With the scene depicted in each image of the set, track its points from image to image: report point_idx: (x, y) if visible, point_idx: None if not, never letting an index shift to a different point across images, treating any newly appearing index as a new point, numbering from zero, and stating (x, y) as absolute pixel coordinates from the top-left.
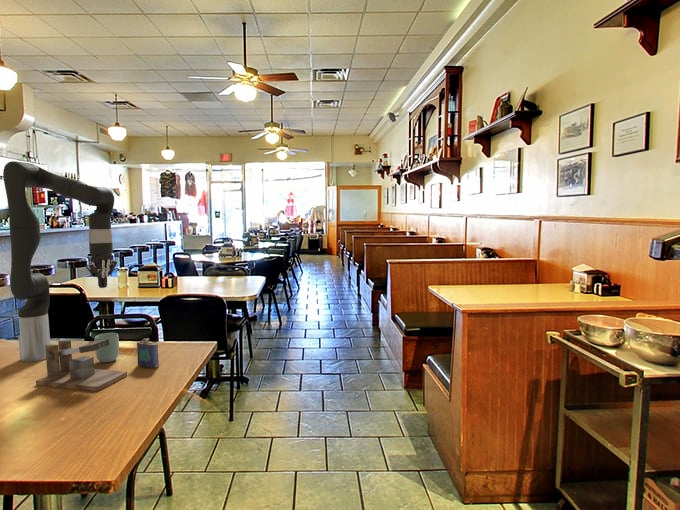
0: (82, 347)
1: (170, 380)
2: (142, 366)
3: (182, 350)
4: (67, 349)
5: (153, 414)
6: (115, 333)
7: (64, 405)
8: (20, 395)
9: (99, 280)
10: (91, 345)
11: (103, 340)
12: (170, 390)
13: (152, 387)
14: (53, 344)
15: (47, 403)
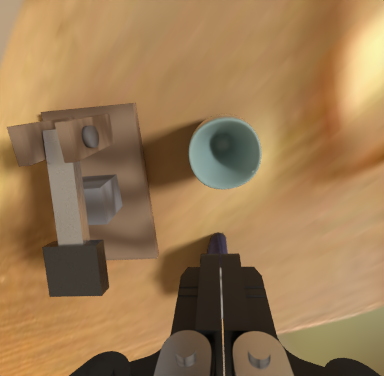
0: (45, 258)
1: (169, 332)
2: (208, 251)
3: (336, 262)
4: (52, 186)
5: (69, 369)
6: (257, 163)
7: (25, 247)
8: (4, 133)
9: (183, 326)
10: (49, 288)
11: (89, 290)
12: (136, 351)
13: (134, 323)
14: (24, 147)
15: (14, 215)
